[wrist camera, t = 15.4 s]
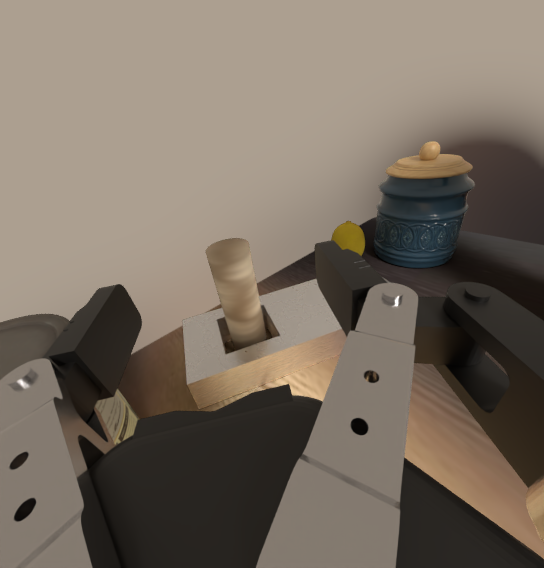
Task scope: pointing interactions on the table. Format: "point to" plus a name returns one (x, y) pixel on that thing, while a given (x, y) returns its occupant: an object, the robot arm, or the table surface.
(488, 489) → the table surface
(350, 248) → the lemon
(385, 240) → the canister
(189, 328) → the block
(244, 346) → the peg
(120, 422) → the coffee can
